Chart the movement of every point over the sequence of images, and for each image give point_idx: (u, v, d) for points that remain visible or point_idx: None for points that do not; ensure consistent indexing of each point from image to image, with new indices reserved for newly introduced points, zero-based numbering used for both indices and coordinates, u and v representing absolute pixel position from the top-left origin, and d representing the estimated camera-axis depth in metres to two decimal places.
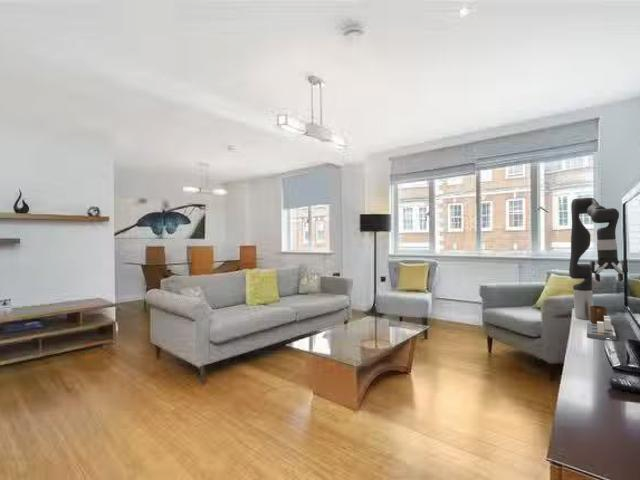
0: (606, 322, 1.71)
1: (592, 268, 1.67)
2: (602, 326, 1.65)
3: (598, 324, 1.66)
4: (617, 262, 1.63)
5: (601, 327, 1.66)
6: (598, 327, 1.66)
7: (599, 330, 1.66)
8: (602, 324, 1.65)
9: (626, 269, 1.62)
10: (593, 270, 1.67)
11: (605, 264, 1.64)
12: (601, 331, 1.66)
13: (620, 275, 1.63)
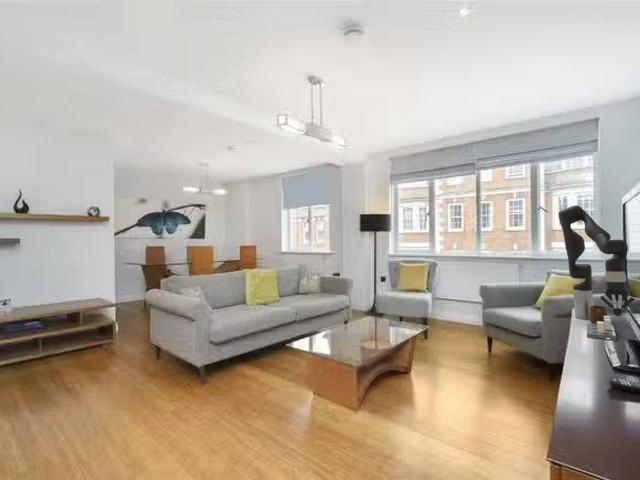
0: (606, 322, 1.71)
1: None
2: (602, 326, 1.65)
3: (598, 324, 1.66)
4: None
5: (601, 327, 1.66)
6: (598, 327, 1.66)
7: (599, 330, 1.66)
8: (602, 324, 1.65)
9: None
10: None
11: None
12: (601, 331, 1.66)
13: None
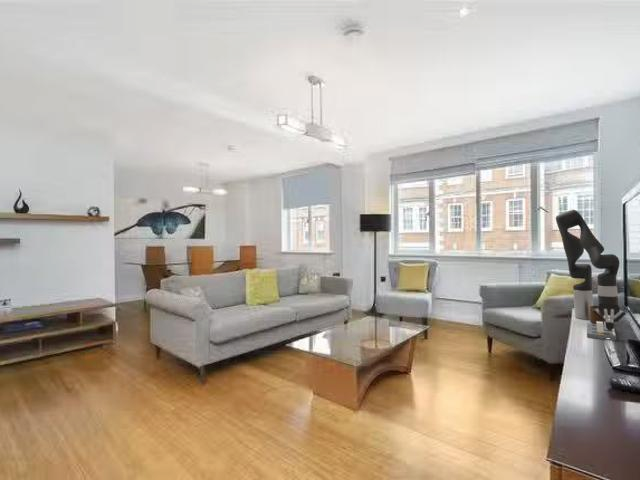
0: None
1: None
2: (601, 326, 1.66)
3: (597, 324, 1.67)
4: None
5: (600, 327, 1.66)
6: (597, 327, 1.67)
7: (598, 330, 1.66)
8: (601, 324, 1.66)
9: None
10: None
11: None
12: (600, 331, 1.66)
13: None
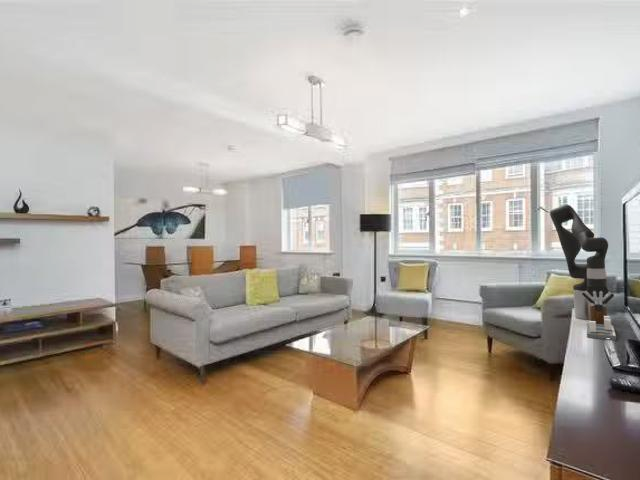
0: (606, 322, 1.71)
1: None
2: (594, 325, 1.67)
3: (590, 323, 1.68)
4: None
5: (593, 326, 1.68)
6: (590, 326, 1.68)
7: (591, 329, 1.68)
8: (594, 323, 1.67)
9: None
10: None
11: None
12: (593, 330, 1.68)
13: None
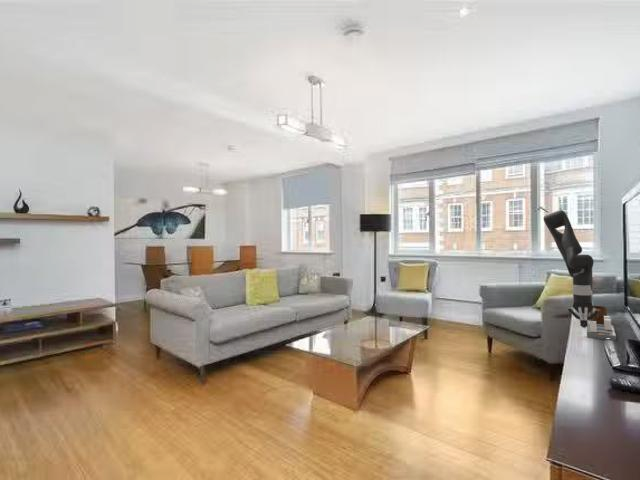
0: (606, 322, 1.71)
1: None
2: (595, 325, 1.67)
3: (591, 323, 1.68)
4: None
5: (594, 326, 1.67)
6: (591, 326, 1.68)
7: (591, 329, 1.68)
8: (595, 323, 1.67)
9: None
10: None
11: None
12: (593, 330, 1.68)
13: None
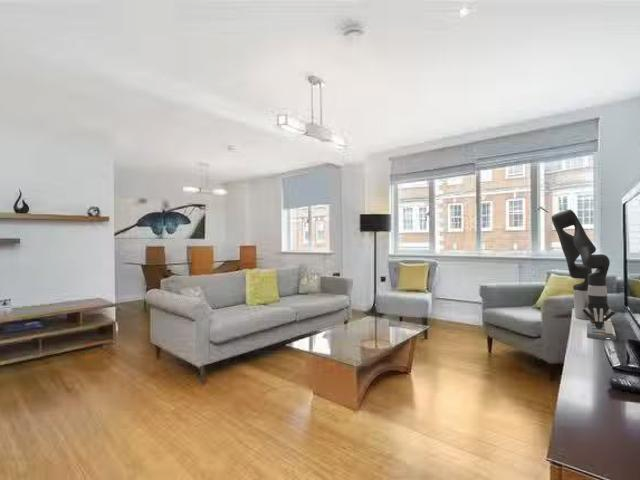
0: None
1: None
2: (610, 327, 1.63)
3: (606, 325, 1.64)
4: None
5: (609, 328, 1.64)
6: (606, 328, 1.64)
7: (607, 330, 1.64)
8: (610, 325, 1.63)
9: None
10: None
11: None
12: (609, 332, 1.64)
13: None
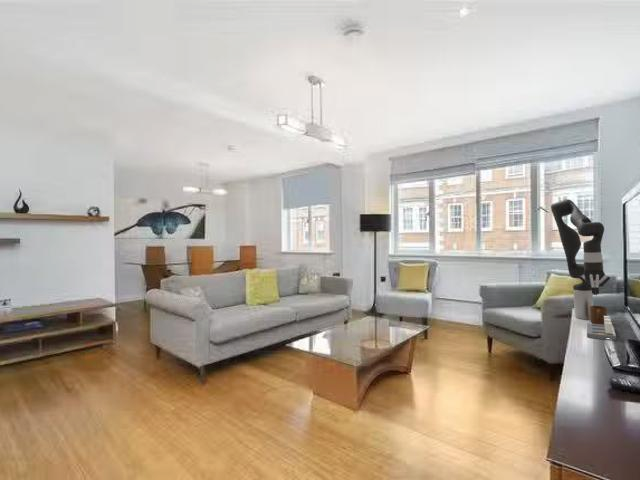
0: None
1: None
2: (610, 327, 1.63)
3: (606, 325, 1.64)
4: None
5: (609, 328, 1.64)
6: (606, 328, 1.64)
7: (607, 330, 1.64)
8: (610, 325, 1.63)
9: None
10: None
11: None
12: (609, 332, 1.64)
13: None
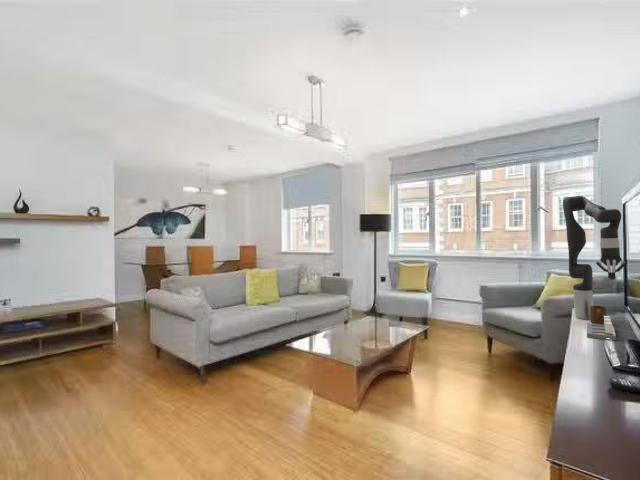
0: None
1: None
2: (610, 327, 1.63)
3: (606, 325, 1.64)
4: None
5: (609, 328, 1.64)
6: (606, 328, 1.64)
7: (607, 330, 1.64)
8: (610, 325, 1.63)
9: None
10: None
11: None
12: (609, 332, 1.64)
13: None
